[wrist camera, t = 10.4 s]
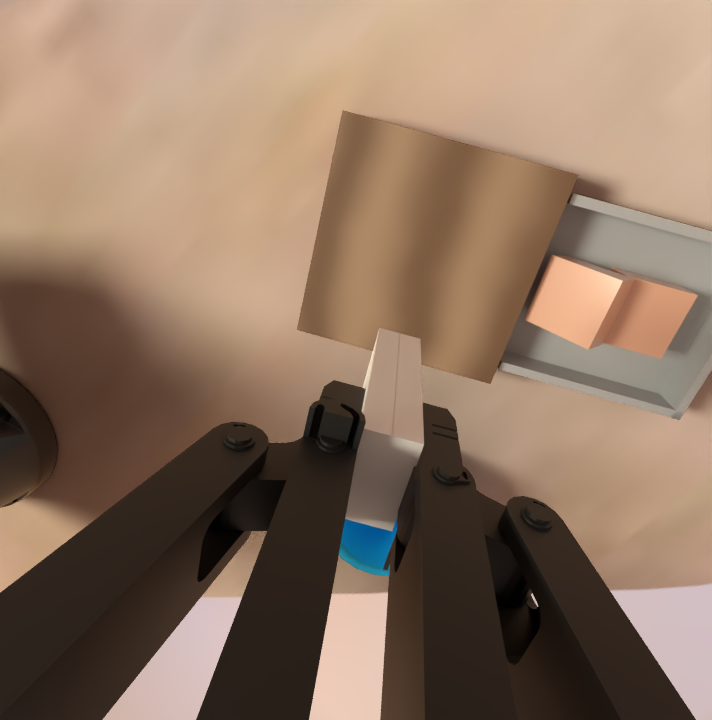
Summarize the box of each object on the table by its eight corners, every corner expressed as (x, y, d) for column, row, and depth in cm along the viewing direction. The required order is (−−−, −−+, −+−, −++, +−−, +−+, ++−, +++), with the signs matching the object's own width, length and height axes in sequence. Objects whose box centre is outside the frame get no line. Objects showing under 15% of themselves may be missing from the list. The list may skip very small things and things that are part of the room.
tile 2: (540, 316, 34) (524, 319, 32) (567, 254, 32) (551, 254, 30) (601, 344, 31) (588, 349, 29) (635, 279, 29) (623, 280, 27)
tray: (492, 352, 36) (498, 369, 33) (559, 189, 31) (573, 193, 28) (660, 399, 36) (679, 420, 33) (755, 243, 31) (787, 252, 28)
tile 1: (661, 358, 31) (644, 344, 34) (697, 295, 29) (678, 284, 32) (594, 340, 31) (583, 327, 34) (627, 276, 30) (612, 266, 32)
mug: (328, 441, 41) (308, 506, 34) (416, 412, 39) (415, 474, 32) (383, 541, 45) (376, 619, 38) (466, 520, 43) (476, 599, 35)
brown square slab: (307, 313, 36) (296, 329, 33) (350, 113, 31) (342, 110, 27) (484, 363, 36) (490, 383, 33) (562, 172, 30) (578, 174, 27)
